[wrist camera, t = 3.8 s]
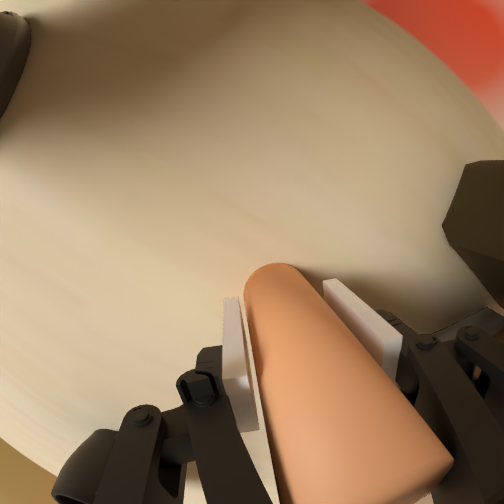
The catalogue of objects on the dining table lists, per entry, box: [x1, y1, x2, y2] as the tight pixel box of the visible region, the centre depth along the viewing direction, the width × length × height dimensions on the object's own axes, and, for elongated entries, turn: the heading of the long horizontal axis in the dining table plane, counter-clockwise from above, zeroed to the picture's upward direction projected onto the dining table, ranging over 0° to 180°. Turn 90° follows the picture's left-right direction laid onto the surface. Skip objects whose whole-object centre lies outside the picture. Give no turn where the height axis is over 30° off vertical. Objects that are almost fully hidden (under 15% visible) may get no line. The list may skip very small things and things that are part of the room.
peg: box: [244, 263, 454, 504], centre depth 10 cm, size 4×4×14 cm
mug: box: [51, 429, 118, 504], centre depth 14 cm, size 8×12×10 cm
